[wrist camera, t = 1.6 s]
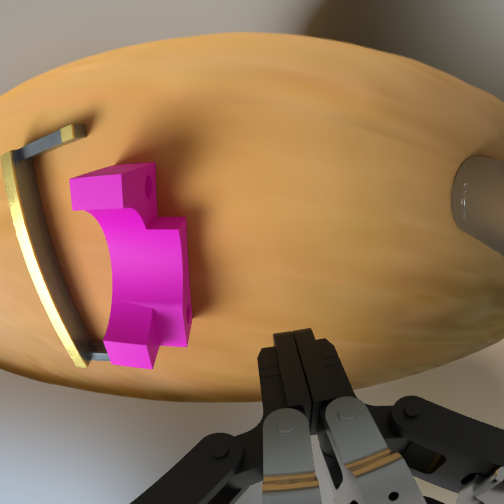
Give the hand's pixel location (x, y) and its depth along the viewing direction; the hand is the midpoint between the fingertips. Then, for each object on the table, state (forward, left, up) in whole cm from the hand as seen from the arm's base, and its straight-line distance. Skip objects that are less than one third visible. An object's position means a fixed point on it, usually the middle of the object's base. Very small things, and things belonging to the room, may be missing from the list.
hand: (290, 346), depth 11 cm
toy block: (+10, 0, -14) cm, 17 cm away
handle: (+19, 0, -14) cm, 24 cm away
